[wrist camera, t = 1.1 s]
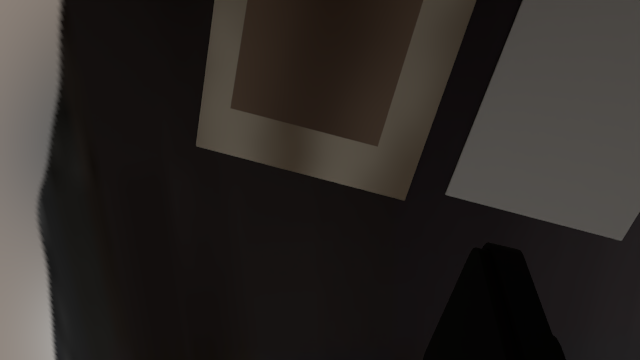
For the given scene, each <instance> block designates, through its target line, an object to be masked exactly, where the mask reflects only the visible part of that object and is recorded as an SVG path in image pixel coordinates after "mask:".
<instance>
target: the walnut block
mask: <svg viewBox="0 0 640 360" xmlns="http://www.w3.org/2000/svg"><path fill="white" fill-rule="evenodd" d="M422 3H423V0H247V6H246V13H245V19H244V25H243V32H242V38H241V44H240V51H239V57H238V63H237V70H236V76H235V82H234V89H233V95H232V101H231V109H235V110H239V111H243V112H247V113H251V114H254V115H258V116H262V117H266V118H270V119H274V120H277V121H281V122H285V123H289V124H293V125H296V126H300V127H304V128H308V129H312V130H316V131H319V132H323V133H327V134H331V135H335V136H339V137H342V138H346V139H350V140H354V141H358V142H362V143H365V144H369V145H373V146H377V147H378V144H379V141H380V138H381V134H382V131H383V128H384V125H385V122H386V118H387V115H388V112H389V109H390V106H391V102H392V99H393V96H394V93H395V90H396V86H397V83H398V80H399V77H400V74H401V70H402V67H403V64H404V61H405V58H406V54H407V51H408V48H409V45H410V42H411V38H412V35H413V32H414V29H415V26H416V22H417V19H418V16H419V13H420V10H421V6H422Z"/></svg>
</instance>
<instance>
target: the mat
mask: <svg viewBox="0 0 640 360" xmlns="http://www.w3.org/2000/svg"><path fill="white" fill-rule="evenodd" d="M445 195H448V196H452V197H456V198H460V199H463V200H467V201H471V202H475V203H479V204H483V205H486V206H490V207H494V208H498V209H502V210H506V211H509V212H513V213H517V214H521V215H525V216H529V217H532V218H536V219H540V220H544V221H548V222H551V223H555V224H559V225H563V226H567V227H571V228H574V229H578V230H582V231H586V232H590V233H594V234H597V235H601V236H605V237H609V238H613V239H617V240H620V241H622V239H623V238H624V236H625V234H626V233H627V231H628V230H629V228H630V226H631V225H632V223H633V222H634V220H635V218H636V217H637V215H638V213H639V212H640V0H522V2H521V5H520V7H519V10H518V12H517V15H516V17H515V20H514V22H513V25H512V27H511V30H510V32H509V35H508V37H507V40H506V42H505V45H504V47H503V50H502V52H501V55H500V57H499V60H498V62H497V65H496V67H495V70H494V72H493V75H492V77H491V80H490V82H489V85H488V87H487V90H486V92H485V95H484V97H483V100H482V102H481V105H480V107H479V110H478V113H477V115H476V118H475V120H474V123H473V125H472V128H471V130H470V133H469V135H468V138H467V140H466V143H465V145H464V148H463V150H462V153H461V155H460V158H459V160H458V163H457V165H456V168H455V170H454V173H453V175H452V178H451V180H450V183H449V185H448V188H447V190H446V193H445Z"/></svg>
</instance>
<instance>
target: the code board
mask: <svg viewBox="0 0 640 360" xmlns="http://www.w3.org/2000/svg"><path fill="white" fill-rule="evenodd" d="M475 3H476V0H423V3H422V6H421V10H420V13H419V16H418V19H417V22H416V26H415V29H414V32H413V35H412V38H411V42H410V45H409V48H408V51H407V54H406V58H405V61H404V64H403V67H402V70H401V74H400V77H399V80H398V83H397V86H396V90H395V93H394V96H393V99H392V102H391V106H390V109H389V112H388V115H387V118H386V122H385V125H384V128H383V131H382V134H381V138H380V141H379V144H378V147H377V146H373V145H369V144H365V143H362V142H358V141H354V140H350V139H346V138H342V137H339V136H335V135H331V134H327V133H323V132H319V131H316V130H312V129H308V128H304V127H300V126H296V125H293V124H289V123H285V122H281V121H277V120H274V119H270V118H266V117H262V116H258V115H254V114H251V113H247V112H243V111H239V110H235V109H231V101H232V95H233V89H234V82H235V76H236V70H237V63H238V57H239V51H240V44H241V38H242V32H243V25H244V19H245V13H246V6H247V0H215V1H214V9H213V17H212V25H211V32H210V40H209V48H208V56H207V63H206V71H205V79H204V87H203V94H202V102H201V110H200V118H199V125H198V133H197V141H196V146H198V147H201V148H205V149H209V150H213V151H217V152H221V153H224V154H228V155H232V156H236V157H240V158H244V159H247V160H251V161H255V162H259V163H263V164H267V165H270V166H274V167H278V168H282V169H286V170H290V171H293V172H297V173H301V174H305V175H309V176H312V177H316V178H320V179H324V180H328V181H332V182H335V183H339V184H343V185H347V186H351V187H355V188H358V189H362V190H366V191H370V192H374V193H378V194H381V195H385V196H389V197H393V198H397V199H401V200H404V201H405V198H406V195H407V192H408V190H409V187H410V184H411V181H412V178H413V176H414V173H415V170H416V167H417V165H418V162H419V159H420V156H421V153H422V151H423V148H424V145H425V142H426V139H427V137H428V134H429V131H430V128H431V126H432V123H433V120H434V117H435V114H436V112H437V109H438V106H439V103H440V100H441V98H442V95H443V92H444V89H445V87H446V84H447V81H448V78H449V75H450V73H451V70H452V67H453V64H454V61H455V59H456V56H457V53H458V50H459V47H460V45H461V42H462V39H463V36H464V34H465V31H466V28H467V25H468V22H469V20H470V17H471V14H472V11H473V8H474V6H475Z"/></svg>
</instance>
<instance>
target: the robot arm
mask: <svg viewBox="0 0 640 360" xmlns="http://www.w3.org/2000/svg"><path fill="white" fill-rule="evenodd" d="M423 360H566V359H565V356H564V353H563V351H562V348H561V345H560V343H559V342H558V340H557V338H556V337H555V336H553V335H552V332H551V330H550V327H549V324H548V321H547V319H546V316H545V313H544V311H543V308H542V305H541V302H540V300H539V297H538V294H537V291H536V289H535V286H534V283H533V280H532V278H531V275H530V272H529V270H528V267H527V264H526V261H525V259H524V256H523V254H522V252H521V251H520V250H518V249H514V248H510V247H506V246H502V245H498V244H493V243H486V244H485V245H484V246H483V248H482V249H480V248H473V250H472V251H471V253H470V254H469V257H468V259H467V261H466V263H465V265H464V268H463V270H462V272H461V274H460V277H459V279H458V281H457V283H456V285H455V288H454V290H453V292H452V294H451V296H450V299H449V301H448V303H447V305H446V307H445V310H444V312H443V314H442V316H441V318H440V321H439V323H438V325H437V327H436V330H435V332H434V334H433V336H432V338H431V341H430V343H429V345H428V347H427V349H426V352H425V354H424V358H423Z"/></svg>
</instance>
